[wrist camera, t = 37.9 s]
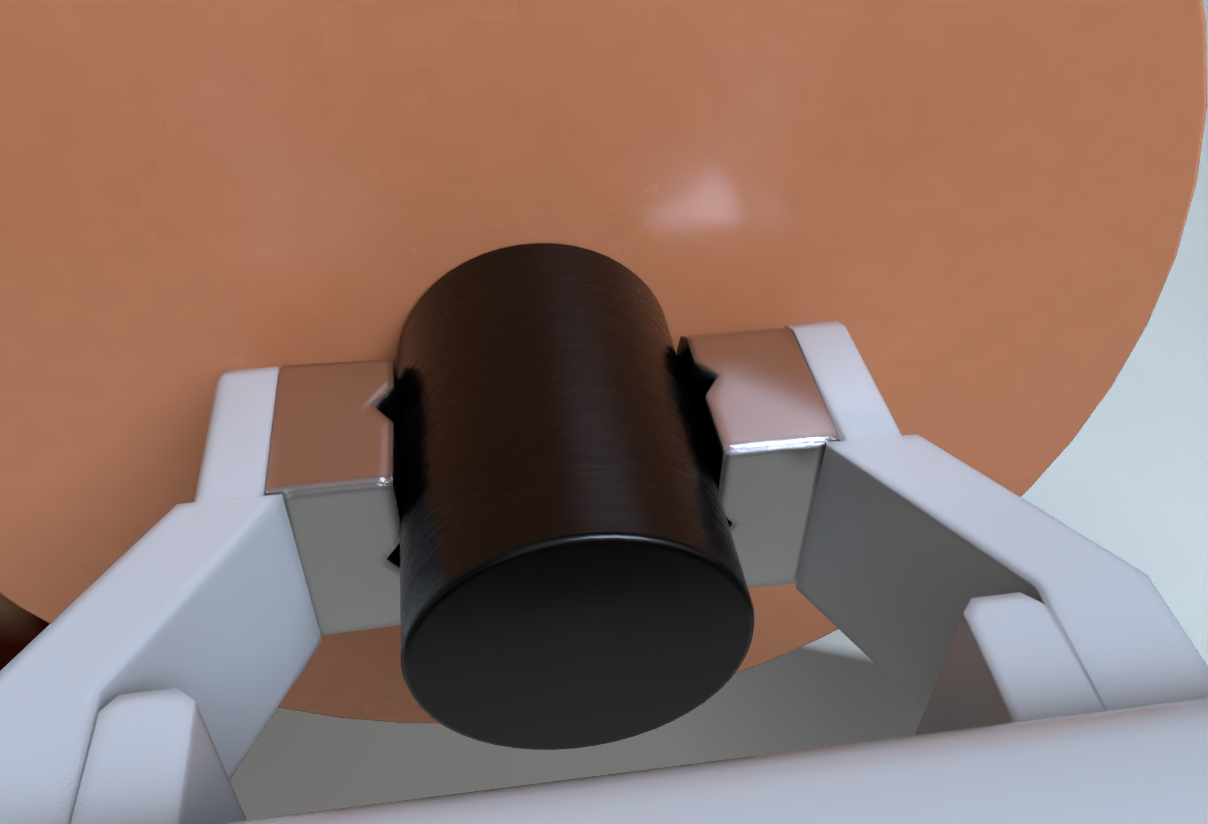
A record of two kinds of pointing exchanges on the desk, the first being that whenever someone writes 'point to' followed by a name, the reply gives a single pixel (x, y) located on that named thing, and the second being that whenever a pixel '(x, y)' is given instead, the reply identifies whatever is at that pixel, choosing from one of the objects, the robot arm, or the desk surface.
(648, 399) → the pot lid
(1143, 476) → the desk surface
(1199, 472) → the desk surface
